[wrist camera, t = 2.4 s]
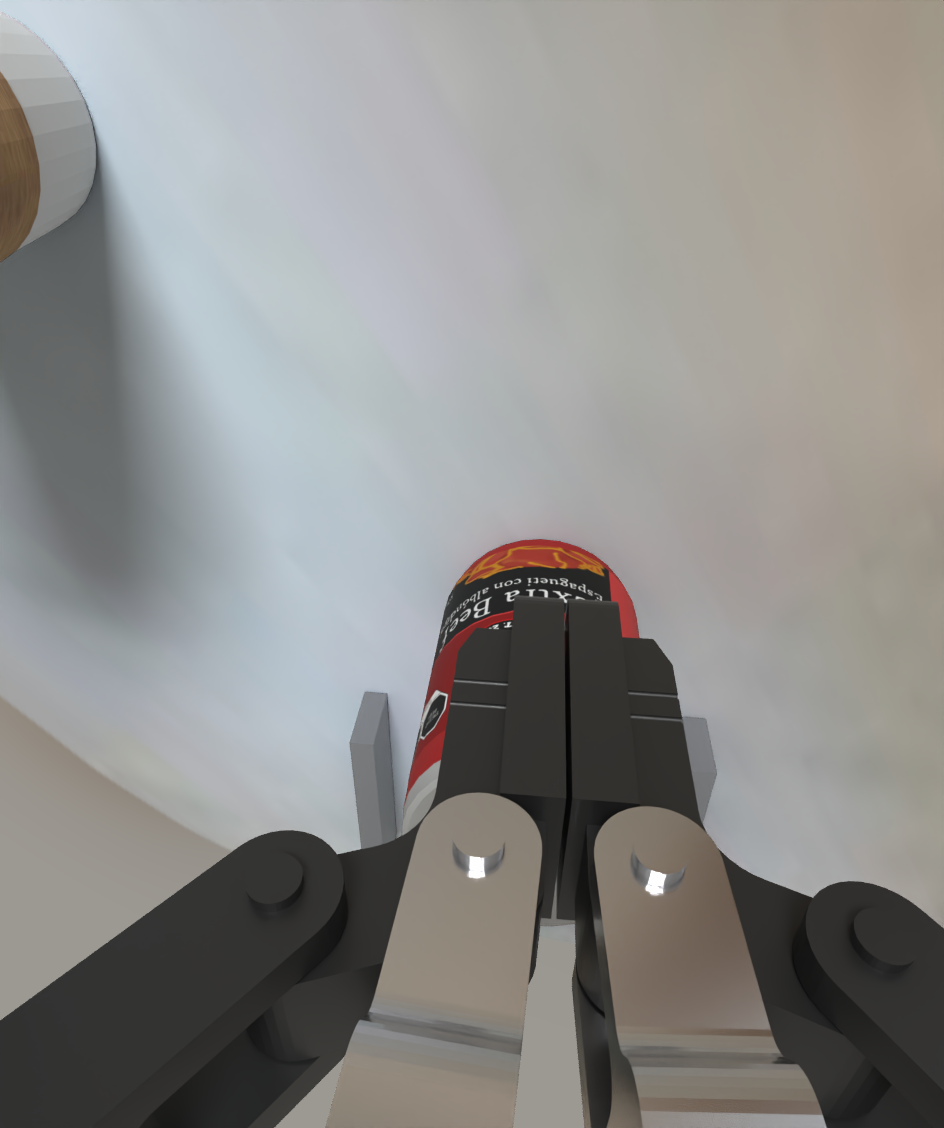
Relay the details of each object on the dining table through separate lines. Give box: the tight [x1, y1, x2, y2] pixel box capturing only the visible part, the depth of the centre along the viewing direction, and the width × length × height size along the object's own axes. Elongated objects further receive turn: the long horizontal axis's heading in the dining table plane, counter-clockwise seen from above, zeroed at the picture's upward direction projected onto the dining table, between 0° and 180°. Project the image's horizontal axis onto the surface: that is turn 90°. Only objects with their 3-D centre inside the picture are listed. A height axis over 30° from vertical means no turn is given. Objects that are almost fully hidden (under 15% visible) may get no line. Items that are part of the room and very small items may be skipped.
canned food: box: [402, 539, 639, 926], centre depth 27 cm, size 8×8×11 cm
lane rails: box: [350, 692, 717, 849], centre depth 36 cm, size 15×10×3 cm, turn 89°
